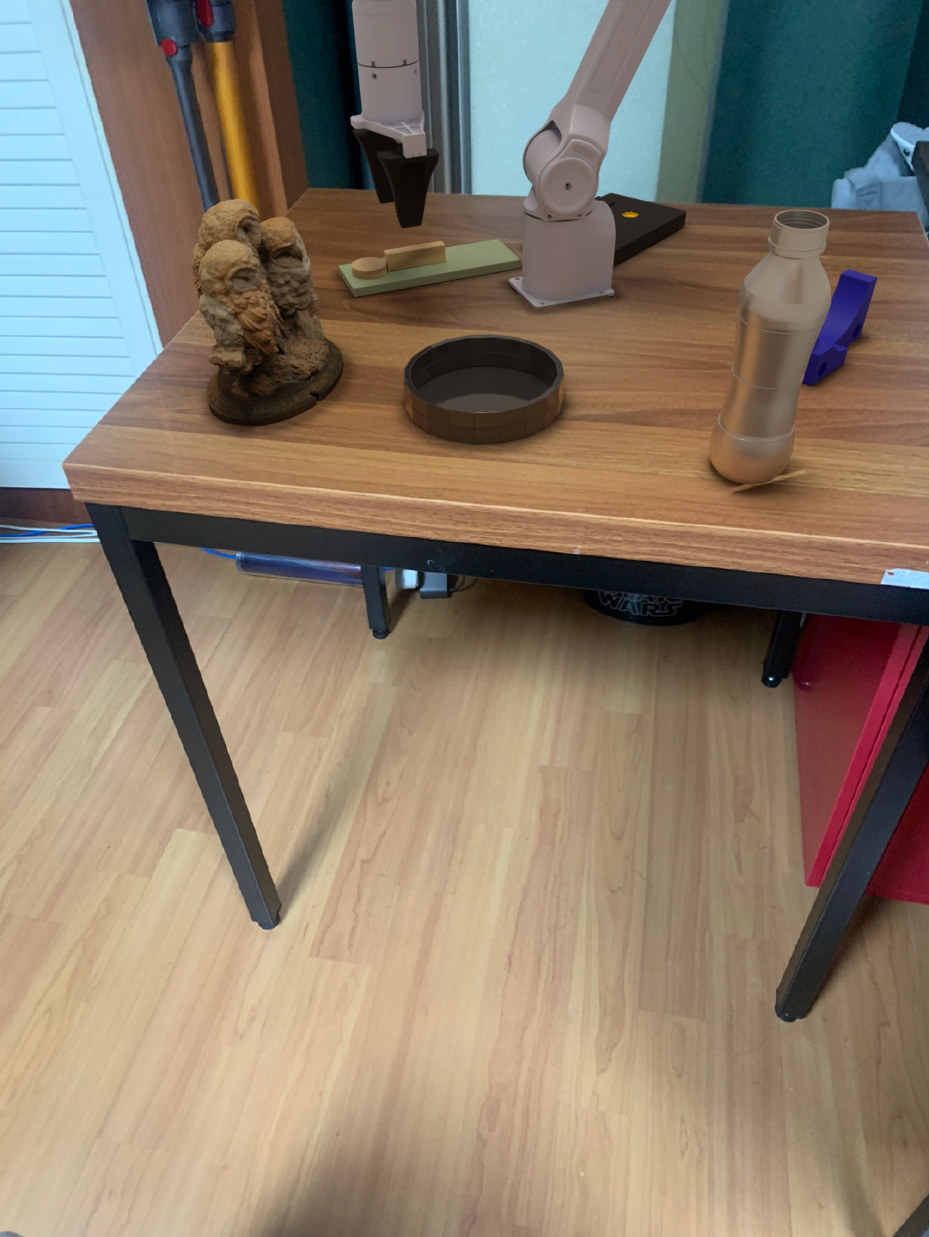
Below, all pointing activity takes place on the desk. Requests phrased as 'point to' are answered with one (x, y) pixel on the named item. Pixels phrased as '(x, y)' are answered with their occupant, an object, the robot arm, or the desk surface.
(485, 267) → the board
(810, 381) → the blue curved bracket
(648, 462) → the desk surface
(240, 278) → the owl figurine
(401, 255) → the wooden paddle
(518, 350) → the pan
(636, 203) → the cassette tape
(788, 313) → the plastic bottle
